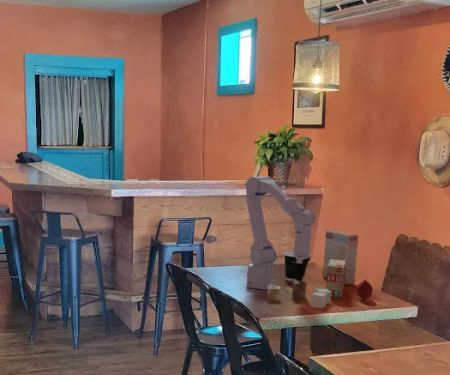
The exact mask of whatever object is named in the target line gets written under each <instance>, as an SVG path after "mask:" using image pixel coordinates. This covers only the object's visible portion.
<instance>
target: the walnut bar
mask: <svg viewBox="0 0 450 375" xmlns="http://www.w3.org/2000/svg"><path fill="white" fill-rule="evenodd" d="M306 292H307V281H303V280H302V281H293V282H292V295H291V296H292V297H291V299H292V300H296V299H297V301H305V299H306Z"/></svg>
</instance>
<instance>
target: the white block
mask: <svg viewBox="0 0 450 375" xmlns="http://www.w3.org/2000/svg"><path fill="white" fill-rule="evenodd" d="M326 301H327V294H326V293H320V292H315V291H314V292H312V293H311V294H310V307H312V308H317V309H324V308H325V307H326V306H327V304H326Z"/></svg>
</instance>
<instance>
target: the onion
mask: <svg viewBox="0 0 450 375" xmlns="http://www.w3.org/2000/svg"><path fill="white" fill-rule="evenodd" d="M356 293H357V294H358V296H359V298H360V299H361V300H363V301H366V300H367V299H369V298H370V297H371V296H372V295H373V286H372V284H371V283H370V282H369V281H367V279H366V278H364V279H363V281H362V282H360V283H359V284H358V285H357V288H356Z"/></svg>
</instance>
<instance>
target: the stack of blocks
mask: <svg viewBox="0 0 450 375" xmlns="http://www.w3.org/2000/svg"><path fill="white" fill-rule="evenodd" d="M345 268H346V264H345V261H344V260H334V259H330V262H329V264H328V271H327V279H326V288H325V289H328V290H329V291H330V292H331V298H333V299H334V298H336V299H342V298H343V294H344V289H345V285H344V283H345Z"/></svg>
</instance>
